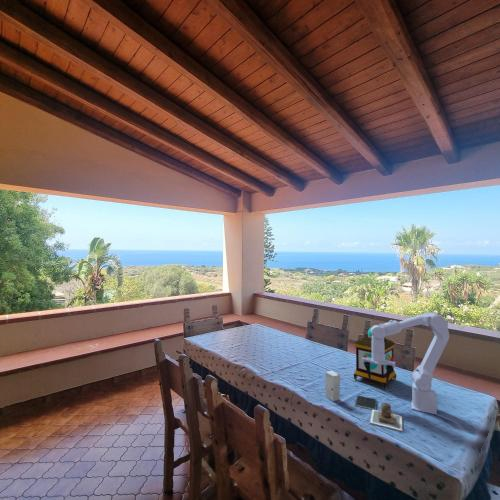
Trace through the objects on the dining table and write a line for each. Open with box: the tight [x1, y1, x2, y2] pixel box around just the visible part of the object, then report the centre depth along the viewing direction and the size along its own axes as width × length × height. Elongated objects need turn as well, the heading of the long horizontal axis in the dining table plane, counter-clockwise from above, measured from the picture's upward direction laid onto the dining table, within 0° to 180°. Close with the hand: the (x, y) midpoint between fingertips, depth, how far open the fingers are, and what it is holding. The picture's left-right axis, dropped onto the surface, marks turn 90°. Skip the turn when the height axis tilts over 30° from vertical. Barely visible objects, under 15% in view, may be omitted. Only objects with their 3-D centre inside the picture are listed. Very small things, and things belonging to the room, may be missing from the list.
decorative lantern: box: [353, 327, 397, 390], centre depth 159 cm, size 20×20×30 cm
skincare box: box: [324, 370, 341, 402], centre depth 138 cm, size 6×4×12 cm
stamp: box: [377, 402, 395, 425], centre depth 119 cm, size 6×6×6 cm
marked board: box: [369, 409, 404, 433], centre depth 118 cm, size 12×12×1 cm
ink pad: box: [354, 395, 378, 411], centre depth 132 cm, size 9×9×1 cm
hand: (378, 379), depth 135 cm, fingers open, 7 cm apart
